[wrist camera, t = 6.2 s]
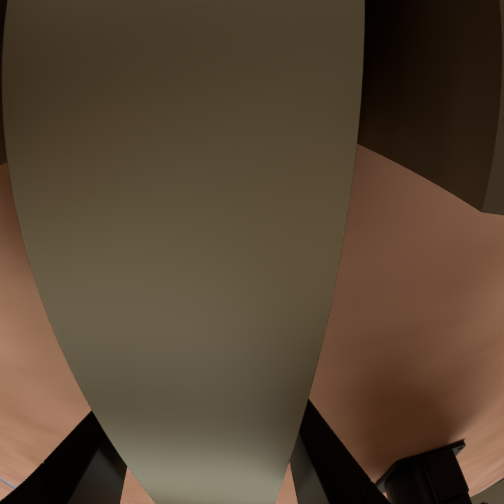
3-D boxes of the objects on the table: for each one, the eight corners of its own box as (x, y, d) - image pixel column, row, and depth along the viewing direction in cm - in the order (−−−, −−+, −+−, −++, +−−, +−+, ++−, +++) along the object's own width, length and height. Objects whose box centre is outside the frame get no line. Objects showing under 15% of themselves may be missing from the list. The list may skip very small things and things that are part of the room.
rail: (264, 411, 13) (270, 514, 9) (173, 408, 13) (159, 508, 8) (294, -4, 6) (359, -103, 2) (134, 1, 6) (22, -67, 1)
